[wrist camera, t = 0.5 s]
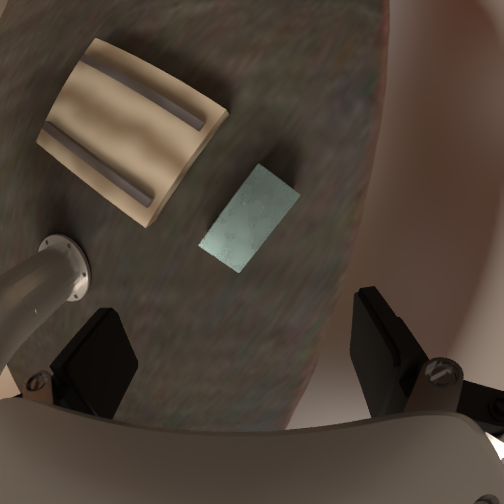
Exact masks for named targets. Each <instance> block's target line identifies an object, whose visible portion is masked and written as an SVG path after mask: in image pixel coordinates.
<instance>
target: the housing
mask: <svg viewBox="0 0 504 504" xmlns="http://www.w3.org/2000/svg"><path fill="white" fill-rule="evenodd" d="M299 197H300V194H298V193H297V192H296V191H295V190H294V189H292V188H291V187H290V186H289V185H287V184H286V183H285V182H283V181H282V180H281V179H279V178H278V177H277V176H275V175H274V174H273V173H271V172H270V171H269V170H267V169H266V168H265V167H263V166H262V165H261V164H259V163H257V164H256V165H255V167H254V168H253V169H252V171H251V172H250V173H249V175H248V176H247V177H246V179H245V180H244V181H243V183H242V184H241V185H240V187H239V188H238V189H237V191H236V192H235V193H234V195H233V196H232V198H231V199H230V200H229V202H228V203H227V204H226V206H225V207H224V209H223V210H222V211H221V213H220V214H219V216H218V217H217V218H216V220H215V221H214V223H213V224H212V225H211V227H210V228H209V230H208V231H207V232H206V234H205V236H204V237H203V239H202V241H201V242H200V244H199V246H200V247H201V248H203V249H204V250H206V251H207V252H209V253H210V254H212V255H213V256H214V257H216V258H217V259H219V260H220V261H222V262H223V263H225V264H226V265H228V266H229V267H231V268H232V269H234V270H235V271H237V272H238V273H240V271H241V270H242V269H243V268H244V266H245V265H246V264H247V262H248V261H249V260H250V259H251V257H252V256H253V255H254V254H255V252H256V251H257V250H258V249H259V247H260V246H261V245H262V244H263V242H264V241H265V240H266V238H267V237H268V236H269V235H270V233H271V232H272V231H273V230H274V228H275V227H276V226H277V225H278V223H279V222H280V221H281V220H282V218H283V217H284V216H285V214H286V213H287V212H288V211H289V209H290V208H291V207H292V206H293V204H294V203H295V202H296V201H297V199H298V198H299Z"/></svg>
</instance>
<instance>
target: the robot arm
mask: <svg viewBox="0 0 504 504" xmlns="http://www.w3.org/2000/svg"><path fill="white" fill-rule="evenodd" d="M90 282H91V273H90V267H89V264H88V261H87V259H86V256H85V254H84V253H83V251H82V250H81V248H80V247H79V246H78V244H77V243H76V242H74V241H73V240H72V239H71V238H69V237H68V236H65V235H63V234H53V235H51V236H48V237H47V238H45V239H44V240H43V242H42V243H41V245H40V247H39V251H38V253H36V254H34V255H33V256H31V257H29V258H28V259H26V260H24V261H23V262H21V263H19V264H18V265H16V266H15V267H13V268H11V269H10V270H8V271H7V272H5V273H4V274H2V275H1V276H0V375H1V372H2V371H3V369H4V367H5V366H6V364H7V362H8V361H9V359H10V358H11V357H12V355H13V354H14V353H15V352H16V350H17V349H18V348H19V347H20V346H21V345H22V344H23V343H24V341H25V340H26V339H27V338H28V337H29V336H30V335H31V334H32V333H33V332H34V331H35V330H36V329H37V328H38V327H39V326H40V325H41V324H42V323H43V322H44V321H45V320H46V319H47V318H48V317H49V316H50V315H51V314H52V313H53V312H54V311H55V310H56V309H57V308H58V307H60V306H61V305H62V304H63V303H64V302H65V301H66V300H67V301H77V300H79V299H81V298H82V297H83V296H84V295H85V294H86V293H87V291H88V289H89V287H90ZM350 356H351V360H352V362H353V365H354V368H355V371H356V373H357V376H358V379H359V382H360V384H361V388H362V391H363V394H364V397H365V400H366V403H367V406H368V409H369V412H370V415H371V418H369V419H363V420H358V421H352V422H346V423H340V424H334V425H327V426H319V427H310V428H301V429H290V430H277V431H258V432H214V431H194V430H181V429H170V428H161V427H153V426H146V425H140V424H133V423H127V422H122V421H117V420H112V419H113V417H114V415H115V412H116V410H117V408H118V406H119V404H120V402H121V400H122V398H123V396H124V394H125V392H126V390H127V388H128V386H129V384H130V382H131V380H132V378H133V376H134V374H135V372H136V370H137V368H138V360H137V358H136V356H135V354H134V351H133V349H132V347H131V344H130V342H129V340H128V337H127V335H126V333H125V330H124V328H123V325H122V323H121V320H120V317H119V315H118V313H117V312H116V311H115V310H114V309H113V308H99V309H98V310H97V311H96V312H95V313H94V315H93V316H92V317H91V318H90V319H89V320H88V321H87V322H86V324H85V325H84V326H83V327H82V328H81V329H80V330H79V331H78V333H77V334H76V335H75V336H74V337H73V338H72V340H71V341H70V342H69V343H68V344H67V345H66V347H65V348H64V349H63V350H62V351H61V353H60V354H59V355H58V356H57V358H56V359H55V360H54V361H53V362H52V364H51V365H50V368H51V370H52V371H53V373H54V374H53V376H51V374H50V373H49V372H48V371H45V370H40V371H37V372H34V373H32V374H31V375H30V376H29V377H28V378H27V379H26V380H25V382H24V385H23V393H21V394H19V395H16V396H14V397H12V398H4V399H1V400H0V504H504V391H501V390H497V389H494V388H490V387H486V386H483V385H479V384H476V383H472V382H469V381H466V380H463V378H464V377H463V376H464V374H463V370H462V368H461V367H460V365H459V364H458V363H456V362H455V361H453V360H451V359H449V358H444V357H436V358H432V359H430V360H429V359H428V357H427V355H426V354H425V352H424V351H423V349H422V348H421V346H420V345H419V343H418V342H417V341H416V339H415V337H414V336H413V335H412V333H411V332H410V330H409V329H408V327H407V326H406V324H405V323H404V322H403V320H402V319H401V318H400V317H397V316H396V315H395V313H394V312H393V311H392V309H391V308H390V306H389V305H388V304H387V302H386V301H385V299H384V298H383V297H382V295H381V294H380V293H379V291H378V290H377V289H376V287H375V286H372V287H365V288H360V289H359V292H357V293H355V294H354V305H353V319H352V331H351V342H350Z"/></svg>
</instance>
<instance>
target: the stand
mask: <svg viewBox="0 0 504 504" xmlns="http://www.w3.org/2000/svg"><path fill="white" fill-rule="evenodd" d="M228 116H229V113H228V112H227V110H226V109H225V108H223V107H222V106H220V105H218V104H217V103H215V102H214V101H212V100H211V99H209V98H208V97H206V96H204V95H203V94H201V93H200V92H198V91H196V90H195V89H193V88H191V87H190V86H188V85H186V84H185V83H183V82H181V81H180V80H178V79H176V78H174V77H173V76H171V75H169V74H167V73H166V72H164V71H162V70H160V69H158V68H157V67H155V66H153V65H151V64H149V63H147V62H145V61H143V60H141V59H140V58H138V57H136V56H134V55H132V54H130V53H128V52H126V51H123V50H121V49H119V48H117V47H115V46H113V45H111V44H109V43H106V42H104V41H102V40H100V39H97V38H95V39H94V40H93V42H92V43H91V45H90V46H89V47H88V49H87V50H86V52H85V53H84V54H83V55H82V57H81V58H80V60H79V62H78V63H77V65H76V66H75V68H74V70H73V71H72V73H71V74H70V76H69V78H68V79H67V81H66V83H65V84H64V86H63V88H62V90H61V91H60V93H59V95H58V97H57V99H56V101H55V103H54V104H53V106H52V108H51V110H50V112H49V114H48V116H47V118H46V121H45V122H44V124H43V126H42V129H41V131H40V134H39V136H38V138H37V141H36V142H37V143H38V144H39V145H40V146H41V147H43V148H44V149H45V150H46V151H47V152H49V153H50V154H51V155H52V156H53V157H55V158H56V159H57V160H58V161H59V162H61V163H62V164H63V165H64V166H66V167H67V168H68V169H69V170H71V171H72V172H73V173H74V174H76V175H77V176H78V177H79V178H81V179H82V180H83V181H84V182H86V183H87V184H88V185H90V186H91V187H92V188H93V189H95V190H96V191H97V192H99V193H100V194H101V195H102V196H104V197H105V198H106V199H108V200H109V201H110V202H112V203H113V204H114V205H116V206H117V207H118V208H119V209H121V210H122V211H123V212H125V213H126V214H127V215H129V216H130V217H132V218H133V219H134V220H136V221H137V222H138V223H140V224H141V225H142V226H144V227H145V228H146V227H147V226H149V225H150V224H152V223H153V222H154V221H156V219H157V217H158V216H159V214H160V213H161V211H162V209H163V208H164V206H165V205H166V203H167V202H168V200H169V198H170V197H171V195H172V194H173V192H174V191H175V189H176V188H177V186H178V185H179V183H180V182H181V180H182V179H183V177H184V176H185V174H186V173H187V171H188V170H189V168H190V167H191V166H192V164H193V163H194V161H195V160H196V158H197V157H198V156H199V154H200V153H201V152H202V150H203V149H204V147H205V146H206V145H207V143H208V142H209V141H210V139H211V138H212V137H213V135H214V134H215V133H216V131H217V130H218V129H219V127H220V126H221V125H222V123H223V122H224V121H225V120H226V118H227V117H228Z"/></svg>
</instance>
